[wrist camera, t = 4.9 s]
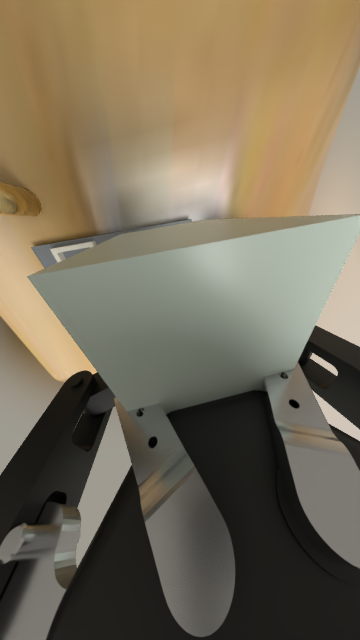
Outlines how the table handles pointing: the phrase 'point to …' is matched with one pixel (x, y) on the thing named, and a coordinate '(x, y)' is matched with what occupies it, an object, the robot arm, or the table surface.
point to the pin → (18, 201)
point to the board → (81, 245)
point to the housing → (199, 303)
